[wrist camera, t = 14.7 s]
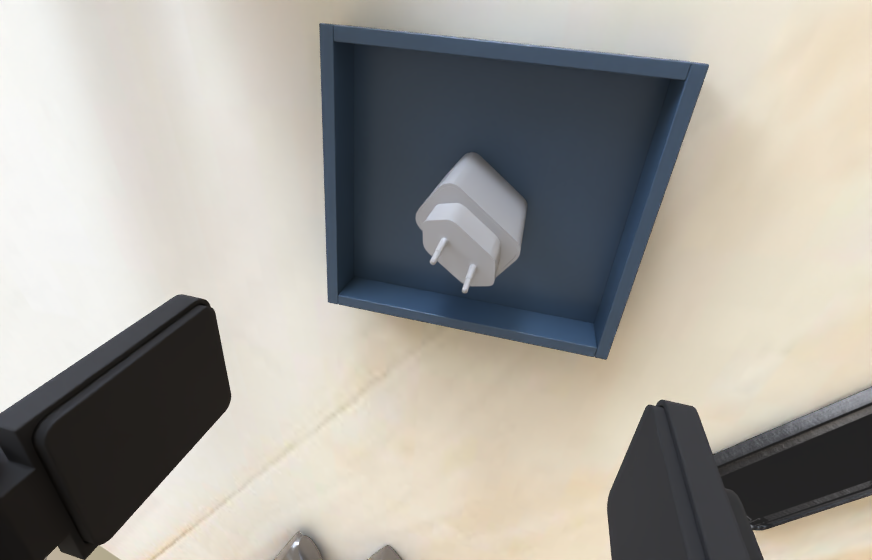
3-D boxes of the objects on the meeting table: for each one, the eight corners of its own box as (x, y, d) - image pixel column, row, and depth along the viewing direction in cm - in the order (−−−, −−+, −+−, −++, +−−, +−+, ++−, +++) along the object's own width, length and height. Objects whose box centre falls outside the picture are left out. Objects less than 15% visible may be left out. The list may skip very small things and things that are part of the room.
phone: (691, 477, 35) (912, 386, 28) (687, 465, 36) (900, 374, 29) (752, 534, 37) (979, 461, 29) (747, 521, 38) (966, 448, 30)
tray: (689, 61, 24) (710, 64, 21) (601, 330, 33) (606, 360, 30) (345, 25, 27) (318, 23, 24) (347, 279, 36) (327, 302, 33)
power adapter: (471, 146, 28) (423, 208, 18) (532, 206, 29) (521, 297, 19) (439, 182, 30) (378, 257, 19) (498, 237, 30) (470, 338, 20)
